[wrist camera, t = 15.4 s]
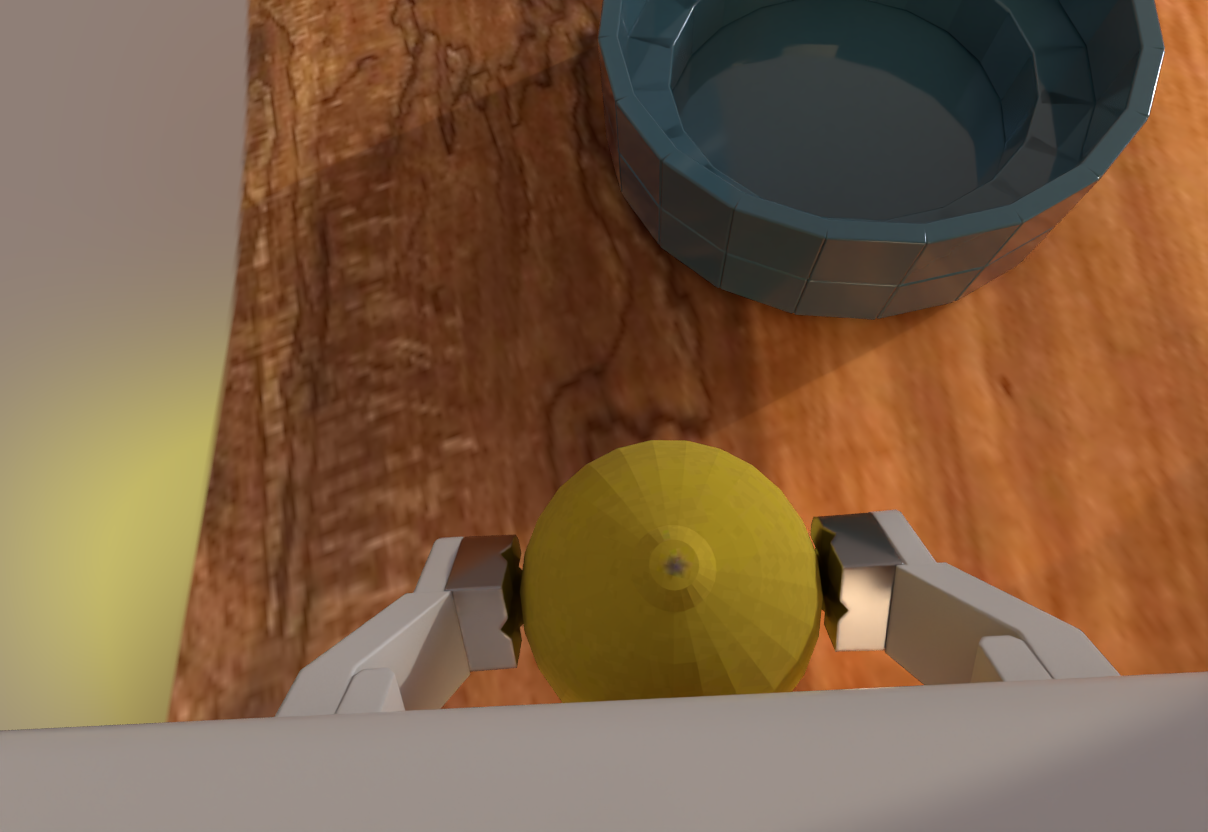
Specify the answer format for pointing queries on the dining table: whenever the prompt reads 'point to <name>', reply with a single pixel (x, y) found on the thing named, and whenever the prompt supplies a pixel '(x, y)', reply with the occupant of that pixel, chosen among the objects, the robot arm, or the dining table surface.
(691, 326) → the dining table surface
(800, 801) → the robot arm
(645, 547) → the lemon
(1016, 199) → the bowl
